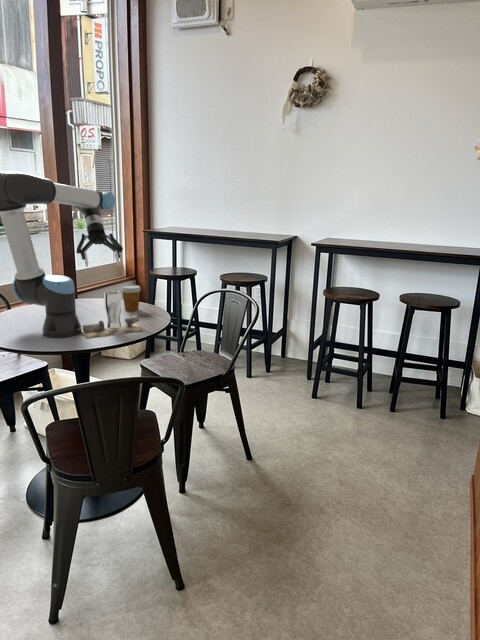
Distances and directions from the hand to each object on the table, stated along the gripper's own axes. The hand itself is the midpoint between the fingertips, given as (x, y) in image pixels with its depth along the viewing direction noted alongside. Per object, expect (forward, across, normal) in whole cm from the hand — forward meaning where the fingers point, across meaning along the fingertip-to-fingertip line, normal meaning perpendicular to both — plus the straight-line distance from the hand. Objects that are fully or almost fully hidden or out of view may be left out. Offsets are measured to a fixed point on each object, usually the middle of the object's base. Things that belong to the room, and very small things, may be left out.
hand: (102, 264), depth 213 cm
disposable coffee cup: (+9, -16, -28) cm, 33 cm away
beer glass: (+29, 0, -5) cm, 30 cm away
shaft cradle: (+30, +1, -6) cm, 31 cm away
